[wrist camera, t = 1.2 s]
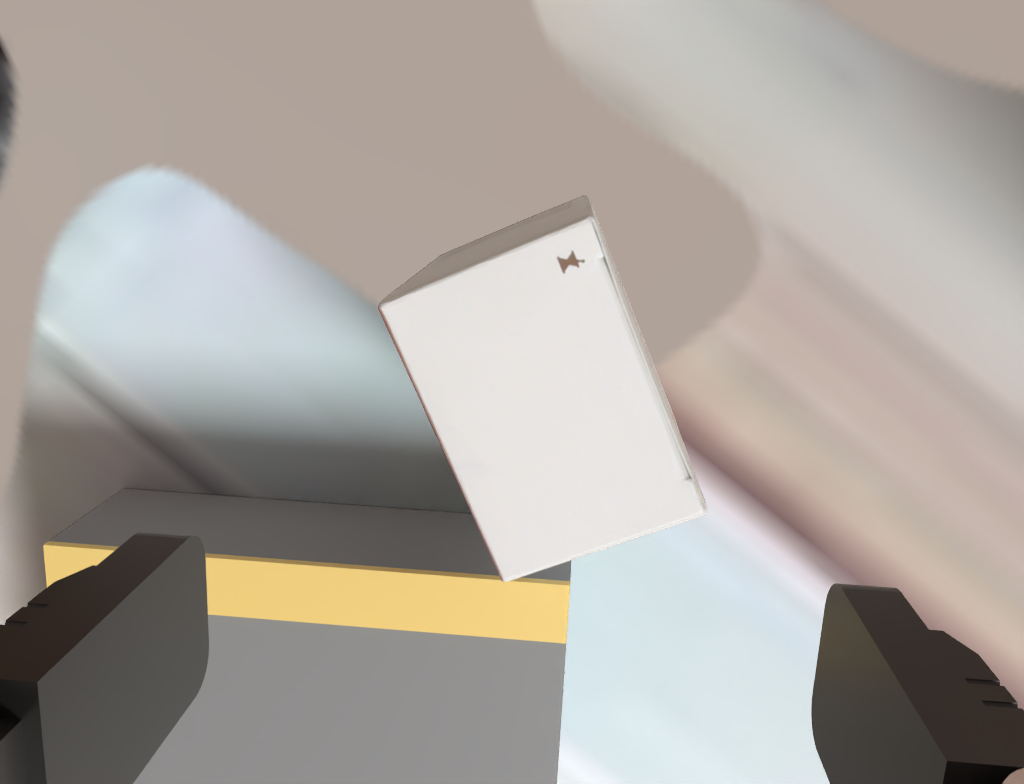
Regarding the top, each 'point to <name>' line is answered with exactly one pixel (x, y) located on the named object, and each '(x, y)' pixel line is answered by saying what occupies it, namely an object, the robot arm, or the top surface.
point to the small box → (543, 392)
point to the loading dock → (350, 644)
